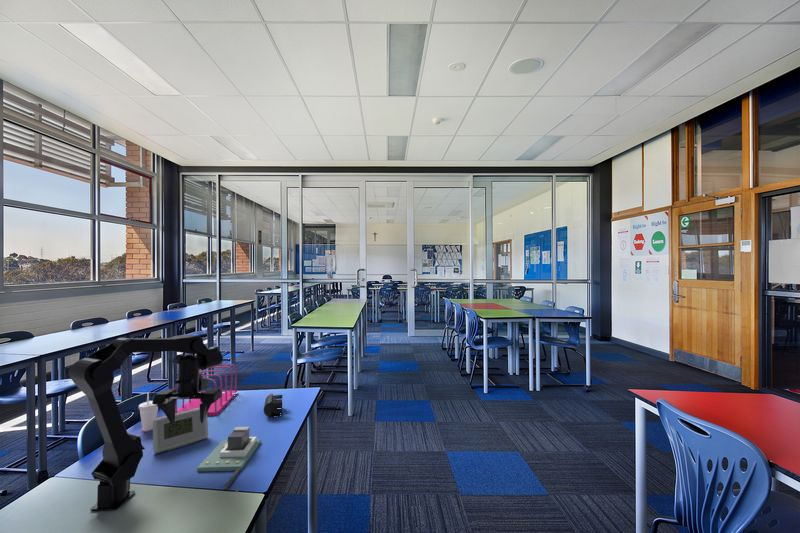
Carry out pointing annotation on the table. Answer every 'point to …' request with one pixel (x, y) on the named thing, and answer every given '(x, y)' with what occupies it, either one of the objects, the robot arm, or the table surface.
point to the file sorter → (226, 396)
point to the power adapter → (273, 405)
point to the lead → (232, 478)
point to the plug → (238, 438)
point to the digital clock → (178, 430)
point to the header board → (228, 457)
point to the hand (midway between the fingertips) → (187, 422)
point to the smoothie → (148, 414)
